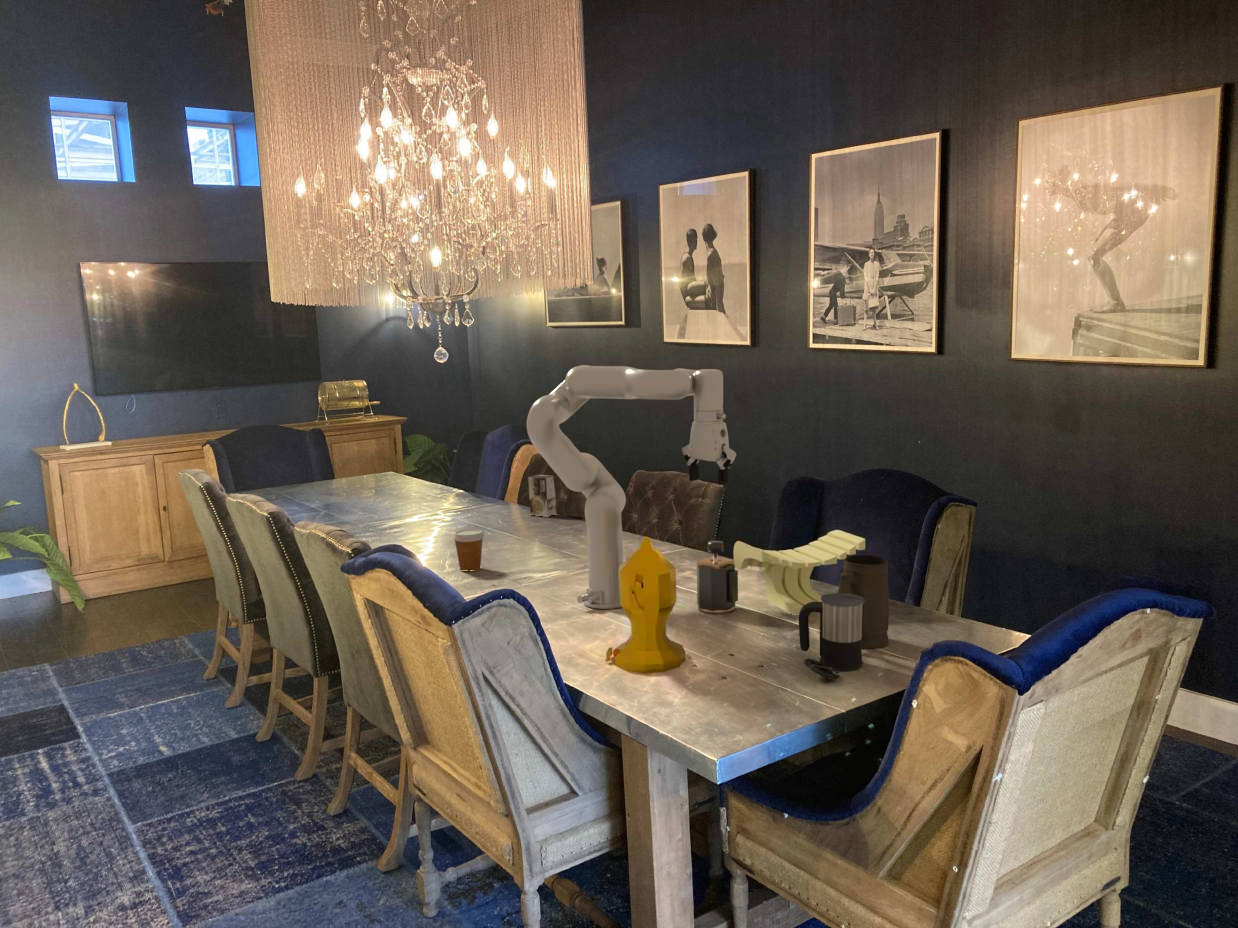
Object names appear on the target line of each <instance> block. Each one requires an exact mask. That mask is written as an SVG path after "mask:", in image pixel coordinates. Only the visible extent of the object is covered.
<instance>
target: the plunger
mask: <svg viewBox="0 0 1238 928" xmlns="http://www.w3.org/2000/svg"><path fill="white" fill-rule="evenodd" d="M707 552H708V553H710V554H712V556H713V562H718V557H719V556H718V555H719V554H720V553H723V552H724V541H722V540H709V541H707Z"/></svg>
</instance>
